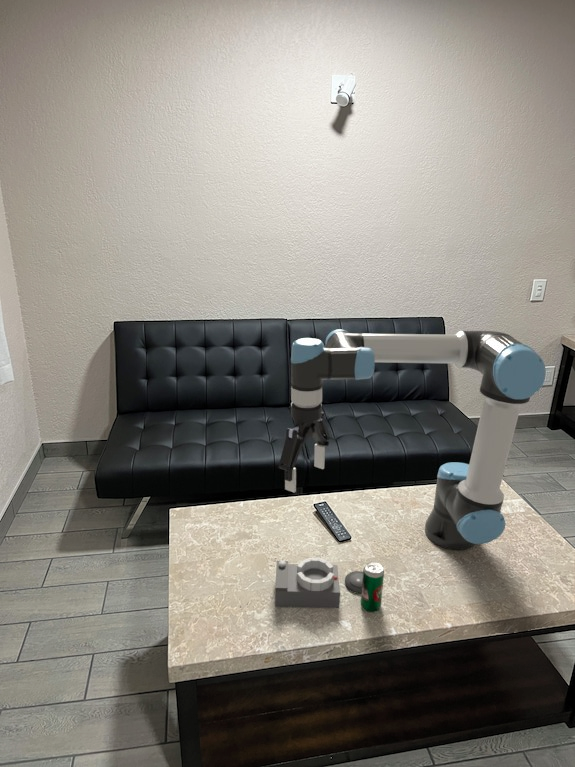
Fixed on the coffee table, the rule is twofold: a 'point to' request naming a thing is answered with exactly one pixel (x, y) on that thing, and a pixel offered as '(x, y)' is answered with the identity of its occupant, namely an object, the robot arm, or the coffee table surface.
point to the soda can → (372, 586)
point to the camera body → (307, 584)
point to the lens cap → (354, 581)
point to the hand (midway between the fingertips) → (305, 478)
